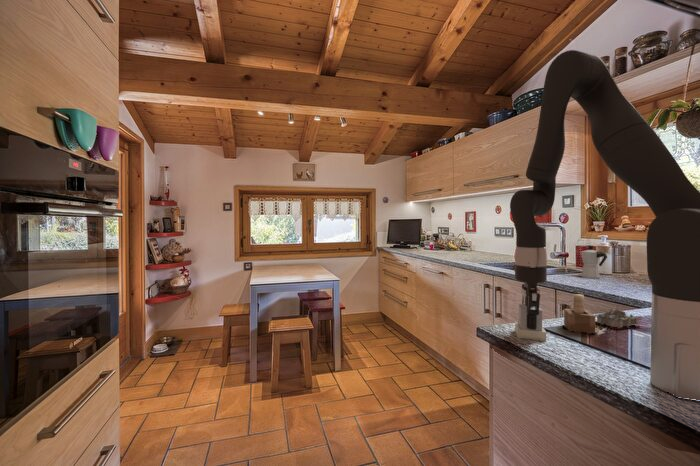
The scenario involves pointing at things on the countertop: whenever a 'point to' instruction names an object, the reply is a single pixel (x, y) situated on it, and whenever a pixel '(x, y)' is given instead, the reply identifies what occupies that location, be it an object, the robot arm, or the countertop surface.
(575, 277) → the countertop surface
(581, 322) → the bore block
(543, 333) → the tray
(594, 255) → the coffee maker
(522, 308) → the off-white square block
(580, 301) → the tan wooden peg
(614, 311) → the grey lumpy piece
